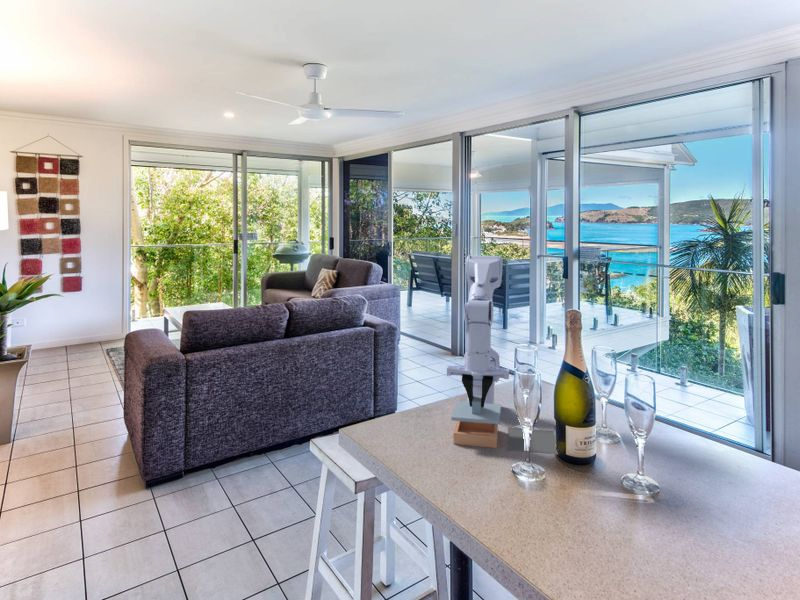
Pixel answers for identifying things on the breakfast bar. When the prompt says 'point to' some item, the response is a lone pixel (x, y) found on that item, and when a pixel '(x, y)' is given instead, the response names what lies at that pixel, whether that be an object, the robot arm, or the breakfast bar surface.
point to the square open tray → (476, 434)
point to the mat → (532, 441)
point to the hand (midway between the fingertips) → (476, 405)
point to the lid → (476, 411)
